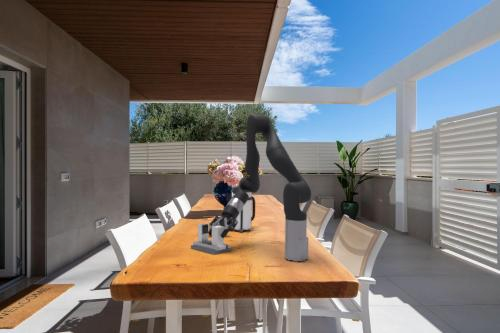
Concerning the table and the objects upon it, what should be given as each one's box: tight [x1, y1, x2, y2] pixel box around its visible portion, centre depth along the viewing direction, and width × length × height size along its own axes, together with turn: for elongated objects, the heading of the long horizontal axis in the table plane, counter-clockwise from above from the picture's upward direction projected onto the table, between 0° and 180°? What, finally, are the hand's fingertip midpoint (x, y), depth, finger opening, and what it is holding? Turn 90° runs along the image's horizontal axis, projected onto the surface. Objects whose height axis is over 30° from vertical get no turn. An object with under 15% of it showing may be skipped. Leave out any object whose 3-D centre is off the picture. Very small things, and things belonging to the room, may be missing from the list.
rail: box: [190, 222, 233, 256], centre depth 168 cm, size 17×11×12 cm, turn 48°
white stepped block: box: [211, 226, 226, 250], centre depth 164 cm, size 6×4×10 cm, turn 47°
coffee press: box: [230, 185, 256, 234], centre depth 218 cm, size 17×16×30 cm
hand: (215, 235), depth 164 cm, fingers open, 8 cm apart
